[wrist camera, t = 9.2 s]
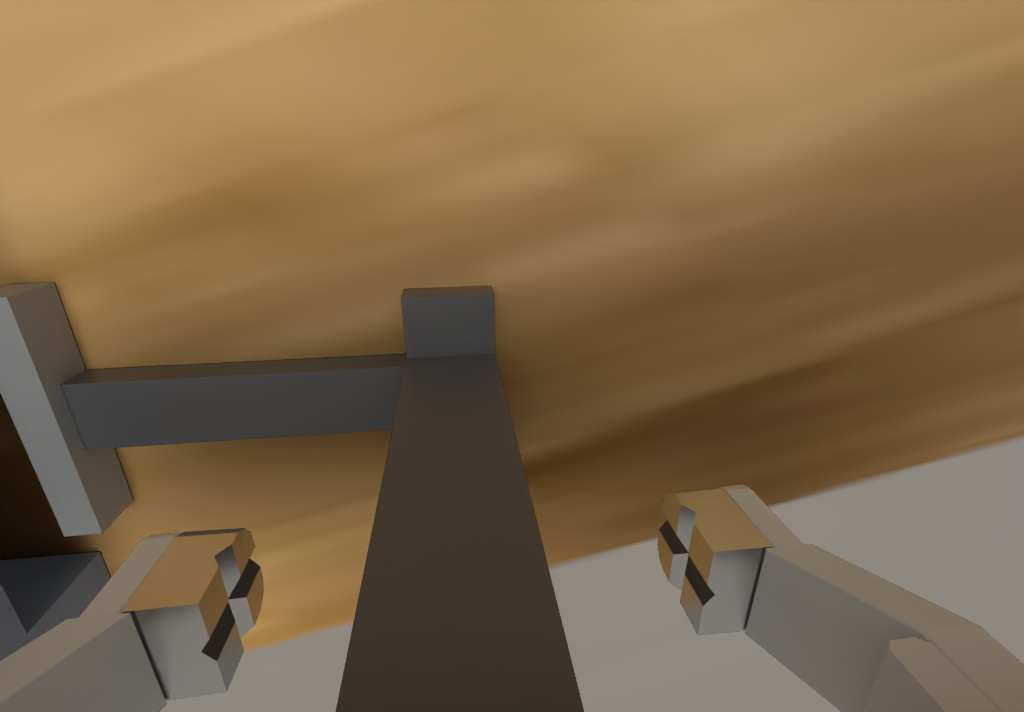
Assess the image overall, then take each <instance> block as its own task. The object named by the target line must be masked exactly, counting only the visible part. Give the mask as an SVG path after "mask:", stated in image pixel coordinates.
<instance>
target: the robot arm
mask: <svg viewBox="0 0 1024 712" xmlns="http://www.w3.org/2000/svg"><path fill="white" fill-rule="evenodd" d="M662 512H663V513H664V515H665V517H666V518H667V521H666V522H665V523H664V524H663V525H662V527H661V528H660V529H659V534H658V550H659V558H660V561H661V564H662V567H663V570H664V572H665V574H666V576H667V578H668V580H669V582H671V583H672V584H674V585H675V586H677V587H678V588H679V589H681V590H682V593H681V600H680V603H681V605H682V606H683V608H684V610H685V612H686V614H687V616H688V617H689V619H690V622H691V623H692V625H693V627H694V629H695V631H696V633H697V635H704V634H716V633H727V632H738V631H746V632H745V634H746V635H748V636H749V637H750V638H751V639H753V640H754V641H755V642H756V643H757V644H759V645H760V646H761V647H763V648H764V649H765V650H766V651H767V652H769V653H770V654H771V655H772V656H773V657H775V658H776V659H777V660H778V661H780V662H781V663H782V664H783V665H784V666H786V667H787V668H788V669H789V670H791V671H792V672H793V673H795V674H796V675H797V676H798V677H799V678H800V679H802V680H803V681H804V682H806V683H807V684H808V685H809V686H810V687H811V688H813V689H814V690H815V691H816V692H818V693H819V694H820V695H821V696H823V697H824V698H825V699H826V700H828V701H829V702H830V703H831V704H833V705H834V706H835V707H836V708H837V709H839V710H840V711H841V712H1024V664H1023V663H1022V662H1021V661H1020V660H1019V659H1018V658H1016V657H1015V656H1014V655H1013V654H1012V653H1011V652H1010V651H1008V650H1007V649H1006V648H1005V647H1004V646H1003V645H1002V644H1000V643H999V642H998V641H997V640H996V639H995V638H993V637H992V636H991V635H990V634H989V633H988V632H987V631H985V630H984V629H983V628H982V627H981V626H979V625H977V624H975V623H973V622H971V621H968V620H967V619H964V618H963V617H960V616H958V615H956V614H954V613H952V612H950V611H948V610H946V609H944V608H942V607H940V606H938V605H936V604H934V603H932V602H930V601H927V600H925V599H924V598H921V597H919V596H917V595H915V594H913V593H911V592H909V591H907V590H905V589H903V588H901V587H899V586H897V585H895V584H893V583H891V582H889V581H886V580H885V579H882V578H880V577H878V576H876V575H874V574H872V573H870V572H868V571H866V570H864V569H862V568H860V567H858V566H856V565H854V564H852V563H850V562H848V561H845V560H843V559H841V558H839V557H837V556H835V555H833V554H831V553H829V552H827V551H825V550H823V549H821V548H819V547H817V546H815V545H812V544H806V545H803V544H802V543H801V542H800V541H799V540H798V538H797V537H796V536H795V535H794V534H793V533H792V532H791V531H790V530H789V529H788V528H787V527H786V526H785V525H784V524H783V523H782V522H781V520H780V519H779V518H778V517H777V516H776V515H775V514H774V513H773V512H772V511H771V510H770V509H769V507H768V506H767V505H766V504H765V503H764V502H763V501H762V500H761V499H760V498H759V497H758V496H757V495H756V494H755V493H754V491H753V490H752V489H751V488H749V487H747V486H745V485H734V486H725V487H718V488H712V489H701V490H690V491H679V492H668V493H666V495H665V497H664V499H663V505H662ZM254 548H255V544H254V541H253V538H252V535H251V531H249V530H247V529H245V528H240V529H224V530H208V531H192V532H183V533H168V534H153V535H150V536H148V537H146V538H144V539H142V540H141V541H140V543H139V544H138V545H137V546H136V548H135V549H134V550H133V551H132V553H131V554H130V555H129V556H128V558H127V559H126V560H125V561H124V562H123V564H122V565H121V566H120V567H119V569H118V570H117V571H116V572H115V574H114V575H113V576H112V577H111V579H110V580H109V581H108V582H107V583H106V585H105V586H104V587H103V588H102V590H101V591H100V592H99V593H98V595H97V596H96V597H95V598H94V600H93V601H92V602H91V603H90V604H89V606H88V607H87V608H86V609H85V611H84V612H83V613H82V614H81V616H80V617H79V618H72V619H67V620H65V621H63V622H62V623H60V624H59V625H57V626H55V627H54V628H52V629H51V630H49V631H48V632H46V633H44V634H43V635H41V636H40V637H38V638H36V639H35V640H33V641H32V642H30V643H28V644H27V645H25V646H24V647H22V648H20V649H19V650H17V651H16V652H14V653H13V654H11V655H9V656H8V657H6V658H5V659H3V660H1V661H0V712H160V711H161V710H162V709H163V708H164V707H165V706H166V704H167V703H166V701H168V700H176V699H182V698H189V697H196V696H202V695H209V694H216V693H222V692H227V690H228V688H229V685H230V683H231V681H232V678H233V676H234V674H235V671H236V669H237V666H238V664H239V662H240V659H241V657H242V655H243V652H244V649H243V646H242V642H241V639H240V638H241V637H242V636H244V635H245V634H246V633H247V632H248V631H249V630H250V629H251V628H253V627H254V625H255V623H256V620H257V618H258V615H259V613H260V610H261V604H262V598H263V592H264V589H263V576H262V572H261V567H260V566H259V565H258V564H256V563H255V562H254V561H252V560H251V559H250V556H251V554H252V552H253V550H254Z"/></svg>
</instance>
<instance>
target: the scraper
mask: <svg viewBox="0 0 1024 712" xmlns="http://www.w3.org/2000/svg"><path fill="white" fill-rule="evenodd" d="M401 301H402V312H403V323H404V333H405V344H406V354H391V355H371V356H351V357H331V358H311V359H290V360H270V361H250V362H230V363H209V364H189V365H169V366H149V367H129V368H108V369H88V370H86V369H85V366H84V363H83V361H82V358H81V355H80V352H79V350H78V347H77V344H76V341H75V339H74V336H73V333H72V330H71V328H70V325H69V322H68V319H67V317H66V314H65V311H64V308H63V306H62V303H61V300H60V298H59V295H58V292H57V289H56V287H55V284H54V282H50V283H18V284H9V285H5V286H2V287H0V393H1V395H2V398H3V400H4V402H5V404H6V407H7V409H8V411H9V413H10V416H11V418H12V420H13V422H14V425H15V427H16V429H17V431H18V434H19V436H20V438H21V440H22V443H23V445H24V447H25V449H26V452H27V454H28V456H29V458H30V461H31V463H32V465H33V467H34V470H35V472H36V474H37V476H38V479H39V481H40V483H41V485H42V488H43V490H44V492H45V494H46V497H47V499H48V501H49V503H50V506H51V508H52V510H53V512H54V515H55V517H56V519H57V521H58V524H59V526H60V528H61V530H62V533H63V535H64V537H65V536H77V535H89V534H101V533H103V532H104V531H105V530H106V529H107V528H108V527H109V526H110V524H111V523H112V522H113V521H114V520H115V519H116V518H117V517H118V516H119V515H120V514H121V513H122V511H123V510H124V509H125V508H126V507H127V506H128V505H129V504H130V503H131V502H132V501H133V498H132V495H131V493H130V490H129V487H128V484H127V482H126V479H125V476H124V473H123V471H122V468H121V465H120V462H119V460H118V457H117V454H116V451H115V449H114V448H119V447H134V446H149V445H164V444H179V443H194V442H209V441H224V440H239V439H254V438H269V437H284V436H299V435H314V434H329V433H345V432H360V431H375V430H390V429H392V434H391V439H390V444H389V449H388V454H387V459H386V464H385V469H384V474H383V479H382V484H381V489H380V494H379V499H378V504H377V509H376V514H375V519H374V524H373V529H372V534H371V539H370V544H369V549H368V554H367V559H366V564H365V568H364V573H363V578H362V583H361V588H360V593H359V598H358V603H357V608H356V613H355V618H354V623H353V628H352V633H351V638H350V643H349V648H348V653H347V658H346V663H345V668H344V673H343V678H342V683H341V688H340V693H339V698H338V703H337V708H336V712H584V710H583V706H582V702H581V698H580V693H579V689H578V685H577V681H576V677H575V673H574V669H573V665H572V662H571V657H570V653H569V649H568V645H567V641H566V637H565V633H564V629H563V626H562V621H561V617H560V613H559V609H558V605H557V601H556V597H555V593H554V589H553V585H552V581H551V577H550V574H549V569H548V565H547V560H546V556H545V552H544V548H543V544H542V540H541V536H540V532H539V528H538V524H537V520H536V516H535V512H534V508H533V504H532V500H531V496H530V492H529V488H528V484H527V480H526V476H525V472H524V468H523V464H522V460H521V456H520V452H519V448H518V444H517V440H516V436H515V432H514V428H513V424H512V420H511V416H510V412H509V407H508V403H507V399H506V395H505V391H504V387H503V383H502V379H501V375H500V371H499V367H498V363H497V359H496V355H495V318H494V293H493V290H492V287H491V286H474V287H445V288H416V289H404V291H403V294H402V297H401Z"/></svg>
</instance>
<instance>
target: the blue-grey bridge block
mask: <svg viewBox="0 0 1024 712" xmlns="http://www.w3.org/2000/svg"><path fill="white" fill-rule="evenodd" d="M110 579H111V578H110V575H109V573H108V571H107V568H106V566H105V563H104V561H103V558H102V556H101V554H100V552H92V553H80V554H69V555H57V556H45V557H34V558H22V559H11V560H0V661H1V660H3V659H5V658H6V657H8V656H9V655H11V654H13V653H14V652H16V651H17V650H19V649H20V648H22V647H24V646H25V645H27V644H28V643H30V642H32V641H33V640H35V639H36V638H38V637H40V636H41V635H43V634H44V633H46V632H48V631H49V630H51V629H52V628H54V627H55V626H57V625H59V624H60V623H62V622H63V621H65V620H67V619H72V618H79V617H80V616H81V614H82V613H83V612H84V611H85V609H86V608H87V607H88V606H89V604H90V603H91V602H92V601H93V600H94V598H95V597H96V596H97V595H98V593H99V592H100V591H101V590H102V588H103V587H104V586H105V585H106V583H107V582H108V581H109V580H110Z"/></svg>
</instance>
